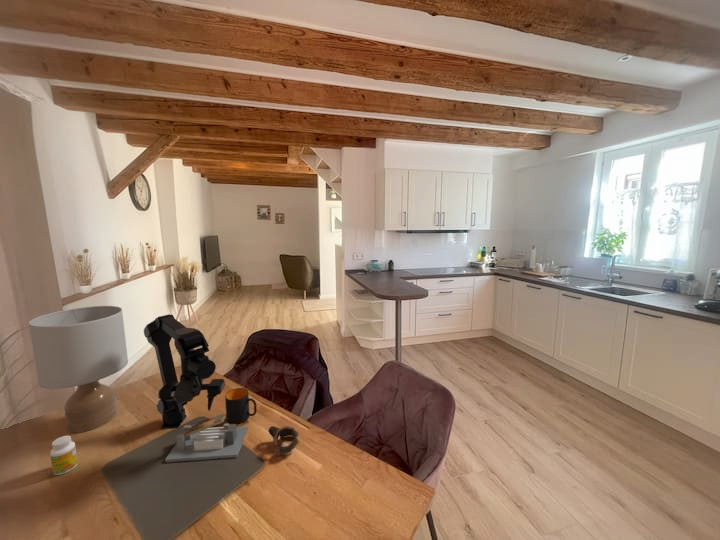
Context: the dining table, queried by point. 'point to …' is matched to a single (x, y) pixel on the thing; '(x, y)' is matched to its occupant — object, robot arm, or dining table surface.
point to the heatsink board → (208, 444)
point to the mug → (238, 406)
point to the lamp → (81, 360)
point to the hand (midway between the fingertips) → (194, 411)
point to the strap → (204, 425)
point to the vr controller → (282, 432)
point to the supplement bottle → (63, 455)
